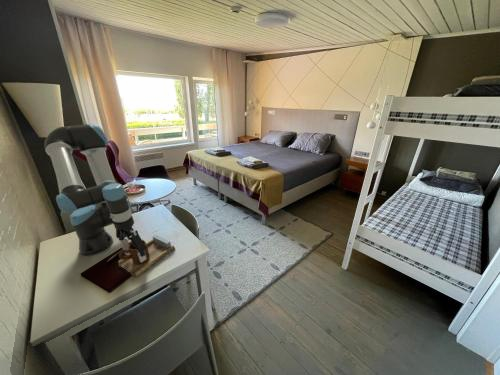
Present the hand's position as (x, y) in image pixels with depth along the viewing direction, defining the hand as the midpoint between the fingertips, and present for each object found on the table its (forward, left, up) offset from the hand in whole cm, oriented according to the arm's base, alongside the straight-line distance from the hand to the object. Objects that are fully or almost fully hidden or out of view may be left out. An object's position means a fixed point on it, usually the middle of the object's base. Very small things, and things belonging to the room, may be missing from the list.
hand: (135, 255), depth 99 cm
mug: (0, 0, -4) cm, 4 cm away
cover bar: (0, +14, -4) cm, 15 cm away
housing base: (0, +5, -5) cm, 8 cm away
